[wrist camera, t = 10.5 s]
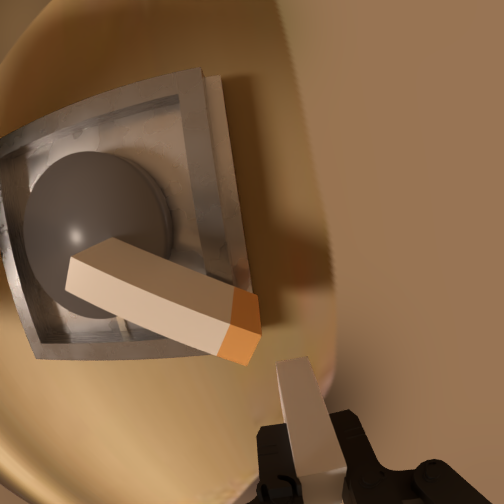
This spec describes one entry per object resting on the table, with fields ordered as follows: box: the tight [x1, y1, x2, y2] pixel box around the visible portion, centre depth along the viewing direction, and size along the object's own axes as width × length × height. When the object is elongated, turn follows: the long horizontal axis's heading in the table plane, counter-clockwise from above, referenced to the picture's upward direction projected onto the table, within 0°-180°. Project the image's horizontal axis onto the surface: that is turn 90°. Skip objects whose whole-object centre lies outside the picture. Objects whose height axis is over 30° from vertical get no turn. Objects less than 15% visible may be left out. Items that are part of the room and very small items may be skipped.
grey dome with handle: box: [23, 151, 262, 366], centre depth 16 cm, size 17×11×7 cm, turn 68°
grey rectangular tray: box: [0, 67, 253, 360], centre depth 19 cm, size 20×18×3 cm
